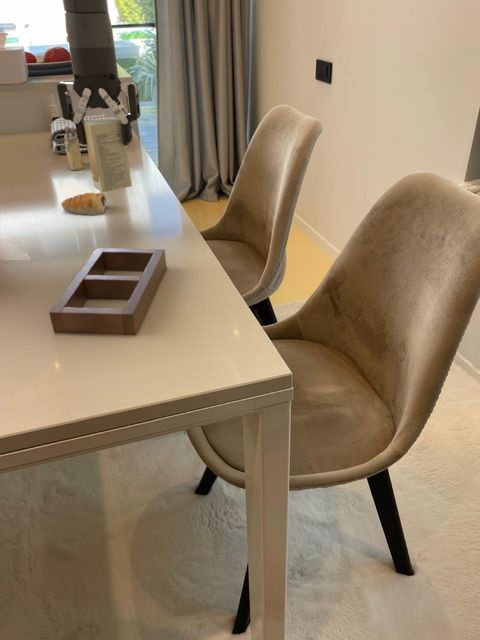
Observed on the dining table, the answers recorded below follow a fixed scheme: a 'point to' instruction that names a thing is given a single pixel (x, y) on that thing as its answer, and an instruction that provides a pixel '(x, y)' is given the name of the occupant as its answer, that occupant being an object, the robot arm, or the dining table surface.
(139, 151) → the dining table surface
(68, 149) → the pale yellow bottle
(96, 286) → the stand
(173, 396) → the dining table surface
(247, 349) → the dining table surface
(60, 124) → the towel
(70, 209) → the pastry
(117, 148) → the cosmetic box
